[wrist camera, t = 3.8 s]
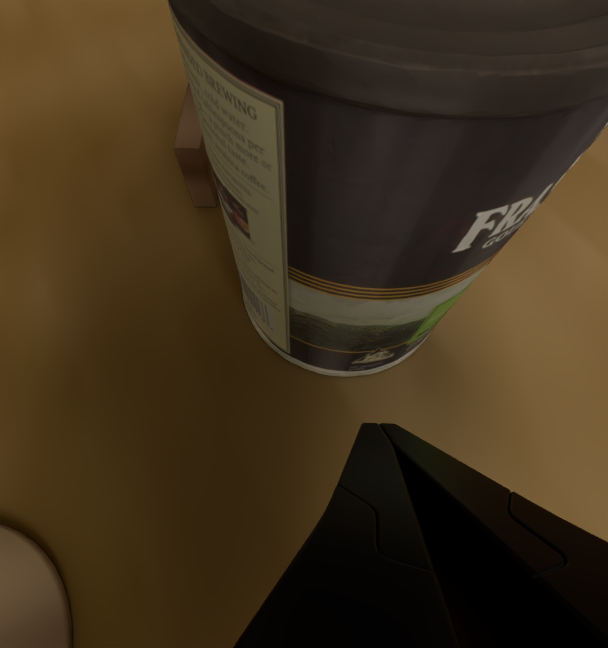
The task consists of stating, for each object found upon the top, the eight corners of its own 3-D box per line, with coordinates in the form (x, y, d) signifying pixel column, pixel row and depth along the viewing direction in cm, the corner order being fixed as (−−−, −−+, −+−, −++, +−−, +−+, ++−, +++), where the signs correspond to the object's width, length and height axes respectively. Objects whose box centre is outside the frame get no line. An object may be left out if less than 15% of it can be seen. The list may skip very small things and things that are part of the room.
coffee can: (472, 261, 20) (791, -141, 7) (375, 422, 17) (657, 197, 4) (314, 176, 22) (342, -252, 9) (199, 301, 19) (-9, -103, 6)
